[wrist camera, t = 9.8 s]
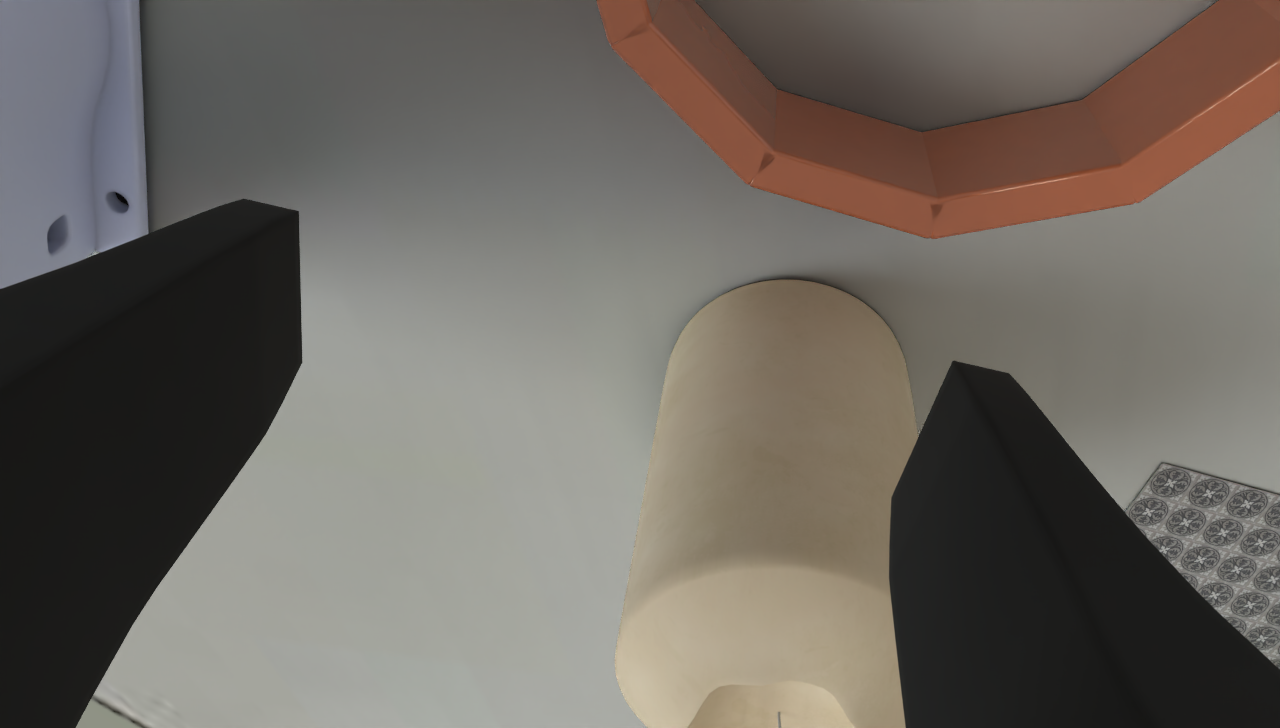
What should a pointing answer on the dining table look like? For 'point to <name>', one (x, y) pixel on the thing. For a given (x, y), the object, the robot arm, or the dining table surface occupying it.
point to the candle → (771, 519)
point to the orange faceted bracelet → (972, 152)
